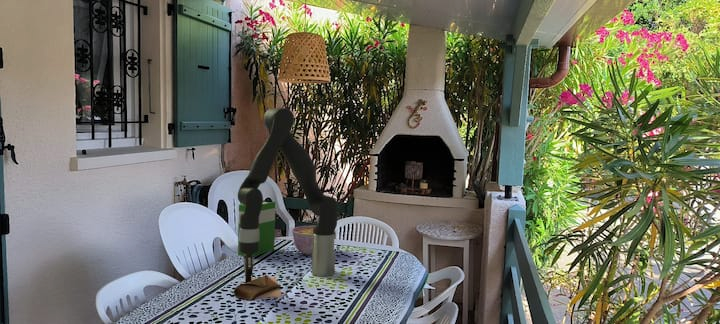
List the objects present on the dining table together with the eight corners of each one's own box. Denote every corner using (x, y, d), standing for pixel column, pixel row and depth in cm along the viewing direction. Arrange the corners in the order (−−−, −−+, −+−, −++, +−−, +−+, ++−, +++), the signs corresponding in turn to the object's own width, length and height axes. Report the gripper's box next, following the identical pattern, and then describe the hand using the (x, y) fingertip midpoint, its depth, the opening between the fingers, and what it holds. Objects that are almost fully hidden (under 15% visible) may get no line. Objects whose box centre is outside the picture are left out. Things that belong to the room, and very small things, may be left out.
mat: (275, 278, 200) (275, 277, 200) (281, 297, 179) (281, 296, 179) (245, 279, 197) (245, 278, 197) (248, 299, 176) (248, 298, 176)
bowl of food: (330, 259, 230) (331, 235, 229) (288, 257, 230) (288, 233, 229) (333, 248, 249) (334, 226, 249) (294, 247, 250) (295, 224, 249)
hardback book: (262, 247, 247) (263, 200, 245) (274, 249, 243) (275, 201, 241) (237, 254, 232) (238, 204, 230) (249, 257, 228) (250, 206, 226)
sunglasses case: (252, 299, 173) (244, 282, 174) (238, 306, 176) (231, 288, 177) (282, 285, 189) (275, 269, 190) (269, 291, 192) (263, 275, 193)
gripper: (260, 243, 180) (259, 289, 181) (258, 235, 193) (257, 278, 194) (239, 244, 178) (238, 290, 179) (238, 235, 191) (237, 279, 192)
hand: (248, 284), depth 187 cm, fingers closed
